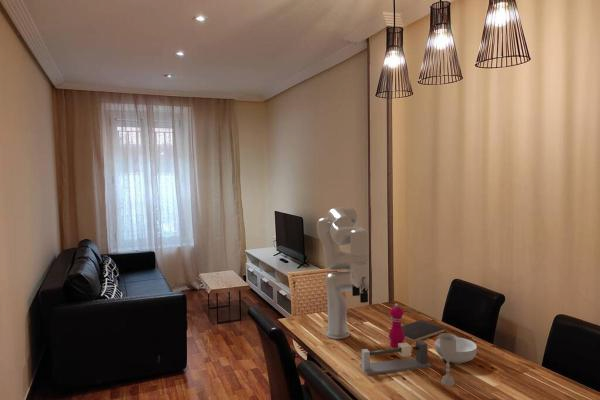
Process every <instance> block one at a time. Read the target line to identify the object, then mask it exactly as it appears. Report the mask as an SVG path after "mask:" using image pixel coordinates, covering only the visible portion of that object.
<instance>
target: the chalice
mask: <svg viewBox="0 0 600 400" xmlns="http://www.w3.org/2000/svg"><path fill="white" fill-rule="evenodd" d="M438 337H439V338H440V350H441V353H442V355H443V358H442V359H444V360H445V361H446V364H445V366H446V369H445V371H446V374H445V375H443V376H442V379H441V381H440V382H441V384H443V385H444V386H447V387H448V386H450V387H451V386H454V385H455V384H456V383H455V381H454V380H455V379H454V378H453V376H452V375H450V372H451V369H450V367H451V365H450V362H449V361H451V360H452V359H453V357H454V355H455V352H456V340H457V337H458V336H456V335H455V334H453V333H448V332H442V333H439V334H438ZM439 338H438V339H439Z"/></svg>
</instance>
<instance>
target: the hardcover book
mask: <svg viewBox="0 0 600 400" xmlns="http://www.w3.org/2000/svg"><path fill="white" fill-rule="evenodd" d="M401 327H402V330H403V332H404V335H405V339H406V340H408V341H410V342H413V343H416V341H419V340H424V339H426V338H429V337H433V336H435V335H439V334H441V333H445V330H446V328H445V327H442V326H439V325H437V324H434V323H432V322H428V321H426V320H423V319H419V320H417V321H413V322H411V323H410V322H409V323H407V324H404V325H401ZM390 330H391V328H390V329H389V331H390ZM405 339H404V340H405Z"/></svg>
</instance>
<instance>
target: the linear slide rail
mask: <svg viewBox="0 0 600 400" xmlns="http://www.w3.org/2000/svg"><path fill="white" fill-rule="evenodd" d="M409 345H410V346H411V353H413V352H414V351H415V357H409V358H400V359H399V358H398V359H393V360H384V361H376V362H371V356H374V355H375V356H376V355H383V354H394V353H398V352H402V348H390V349H381V350H373V351H369V349H368V348H363V349H361V363H360V365H359V366H360V368H361V370H362V371H363V373H364V374H366V375H367V376H372V375H373V376H375V375H380V374H389V373H395V372H403V371H410V370H411V371H412V370H420V369H427V368H429V369H430V368H431V367H432V365H431V363H430V362H428V343H427V342H426V341H425V340H424V339H421V340H418V341H415V346H413V345H411V344H409Z"/></svg>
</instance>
